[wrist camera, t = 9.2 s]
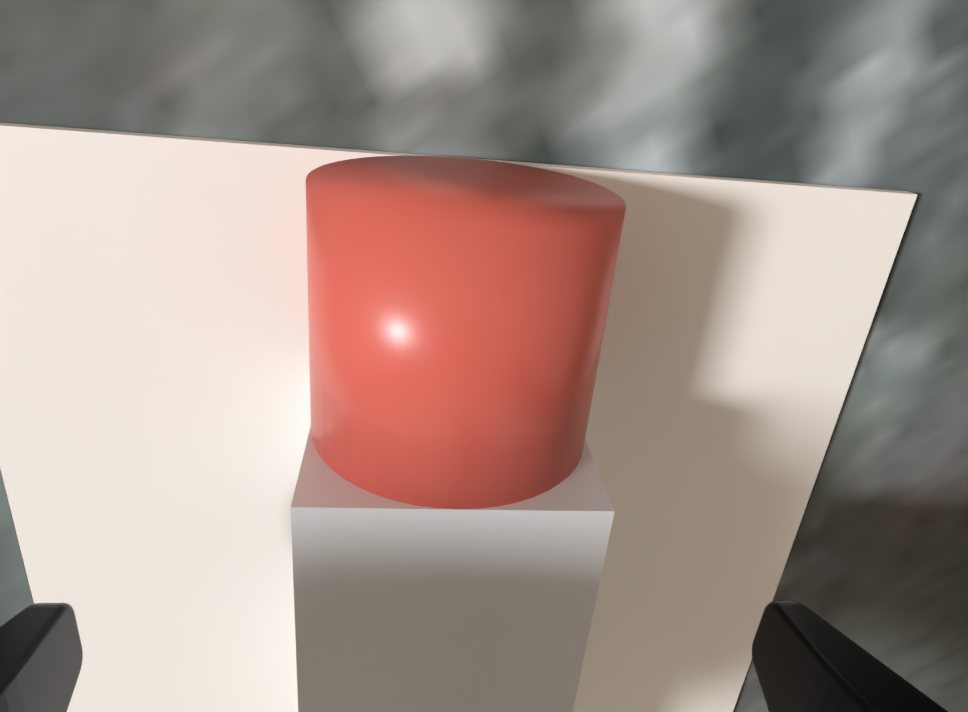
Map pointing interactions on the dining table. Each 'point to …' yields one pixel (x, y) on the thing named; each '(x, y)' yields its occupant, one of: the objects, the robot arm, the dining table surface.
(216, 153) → the paper
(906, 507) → the dining table surface
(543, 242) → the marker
